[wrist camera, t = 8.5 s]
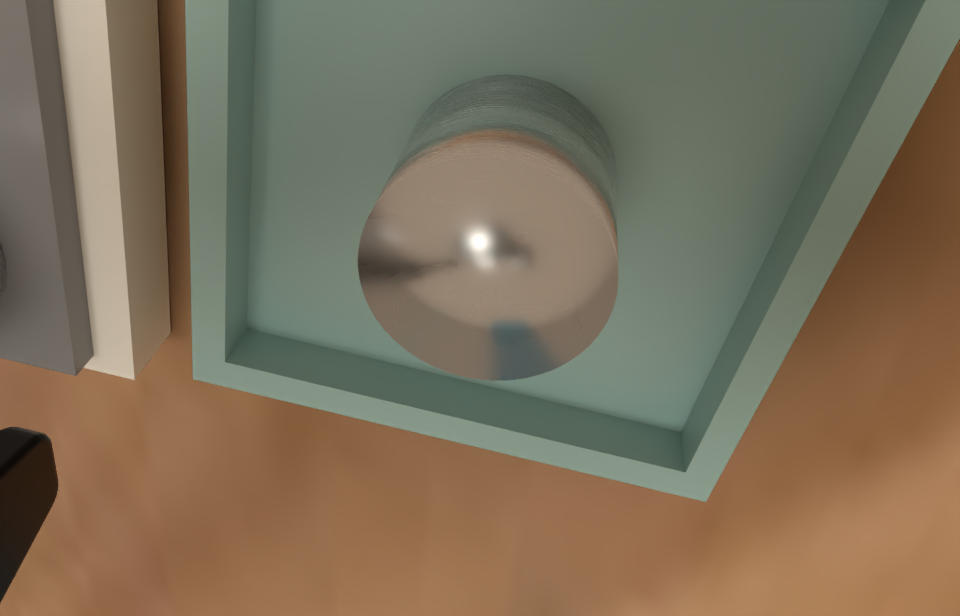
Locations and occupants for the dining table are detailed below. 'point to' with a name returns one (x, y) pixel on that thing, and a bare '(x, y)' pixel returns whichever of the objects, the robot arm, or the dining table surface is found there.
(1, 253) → the cylinder
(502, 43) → the tray
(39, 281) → the scale
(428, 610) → the dining table surface
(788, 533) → the dining table surface
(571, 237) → the cylinder
